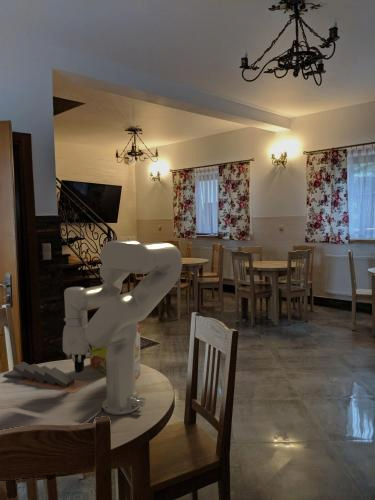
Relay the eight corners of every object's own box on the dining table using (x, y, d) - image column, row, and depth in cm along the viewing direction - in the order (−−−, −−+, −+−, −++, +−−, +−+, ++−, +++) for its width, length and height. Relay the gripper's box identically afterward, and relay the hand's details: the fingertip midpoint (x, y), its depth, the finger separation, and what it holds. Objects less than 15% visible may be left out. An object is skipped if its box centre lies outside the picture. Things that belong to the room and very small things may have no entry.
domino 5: (74, 378, 143) (54, 367, 146) (66, 384, 138) (45, 371, 142) (73, 382, 143) (53, 370, 147) (65, 388, 139) (44, 375, 142)
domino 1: (32, 370, 151) (13, 370, 155) (22, 375, 146) (3, 374, 150) (33, 374, 151) (14, 373, 155) (23, 379, 146) (4, 378, 150)
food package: (89, 367, 162) (88, 320, 160) (91, 366, 162) (90, 319, 161) (108, 377, 150) (106, 327, 149) (110, 376, 151) (109, 327, 150)
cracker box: (129, 392, 137) (128, 335, 135) (113, 391, 138) (112, 334, 137) (141, 377, 151) (140, 324, 149) (127, 375, 152) (126, 324, 150)
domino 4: (64, 377, 145) (44, 365, 148) (55, 382, 140) (34, 370, 144) (63, 380, 145) (43, 369, 148) (54, 386, 140) (33, 373, 144)
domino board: (88, 385, 143) (88, 382, 143) (73, 395, 135) (73, 392, 135) (34, 375, 153) (34, 373, 153) (17, 384, 145) (17, 381, 145)
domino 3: (53, 375, 147) (34, 363, 150) (44, 380, 142) (24, 368, 145) (52, 378, 147) (33, 367, 150) (43, 383, 142) (23, 371, 146)
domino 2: (42, 372, 149) (23, 361, 152) (33, 377, 144) (13, 366, 147) (41, 376, 149) (22, 365, 152) (32, 381, 144) (12, 369, 148)
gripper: (52, 323, 137) (56, 373, 138) (87, 325, 131) (90, 377, 132) (66, 318, 144) (69, 366, 145) (100, 320, 138) (103, 370, 139)
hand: (79, 371), depth 138 cm, fingers closed
